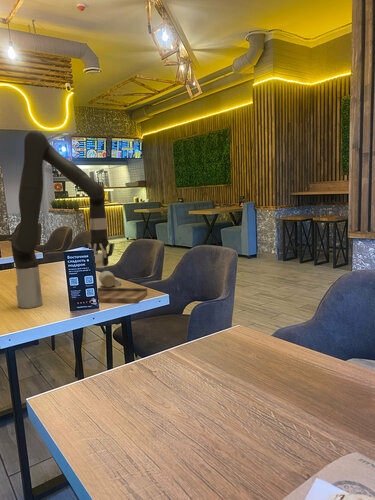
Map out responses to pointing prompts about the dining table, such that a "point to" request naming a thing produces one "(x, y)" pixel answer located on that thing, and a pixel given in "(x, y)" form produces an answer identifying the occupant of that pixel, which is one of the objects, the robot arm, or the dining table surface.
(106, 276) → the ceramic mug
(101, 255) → the marking gauge
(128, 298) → the walnut board
